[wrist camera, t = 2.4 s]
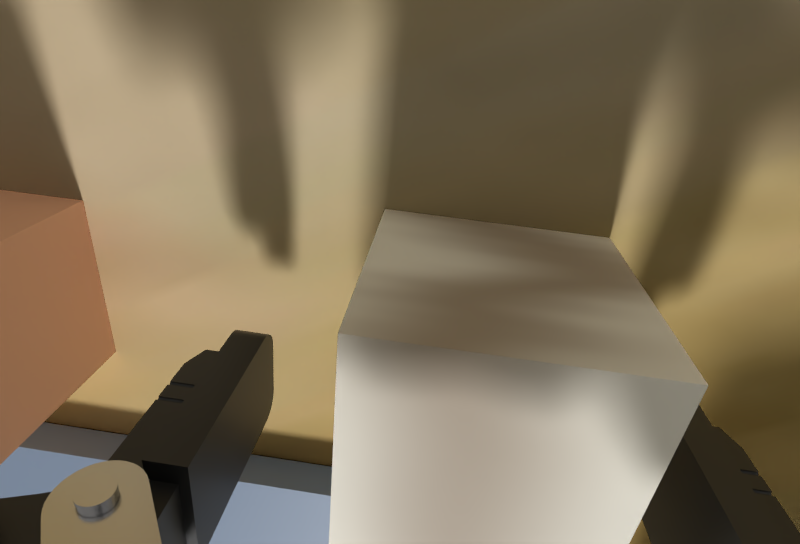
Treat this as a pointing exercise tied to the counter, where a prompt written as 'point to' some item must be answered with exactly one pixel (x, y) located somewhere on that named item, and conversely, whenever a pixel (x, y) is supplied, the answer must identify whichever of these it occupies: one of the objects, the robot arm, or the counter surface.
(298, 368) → the counter surface
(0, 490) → the blue board
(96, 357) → the terracotta cube
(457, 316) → the cream block
